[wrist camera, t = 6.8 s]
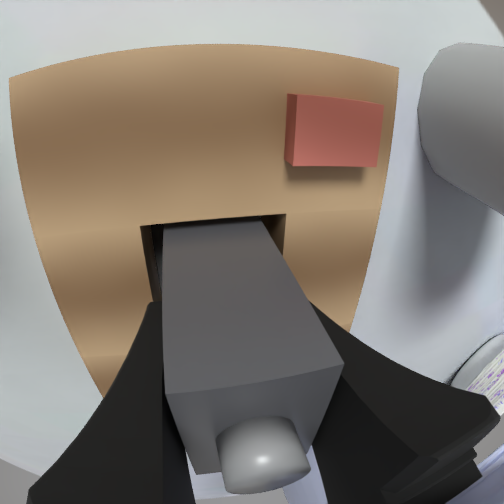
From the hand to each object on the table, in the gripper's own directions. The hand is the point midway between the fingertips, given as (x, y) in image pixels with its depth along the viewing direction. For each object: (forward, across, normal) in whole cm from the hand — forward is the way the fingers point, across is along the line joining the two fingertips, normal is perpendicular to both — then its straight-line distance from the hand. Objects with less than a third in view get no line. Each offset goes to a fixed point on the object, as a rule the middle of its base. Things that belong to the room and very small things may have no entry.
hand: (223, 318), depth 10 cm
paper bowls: (+5, -32, +20) cm, 38 cm away
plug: (+3, 0, 0) cm, 3 cm away
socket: (+4, 0, 0) cm, 4 cm away
